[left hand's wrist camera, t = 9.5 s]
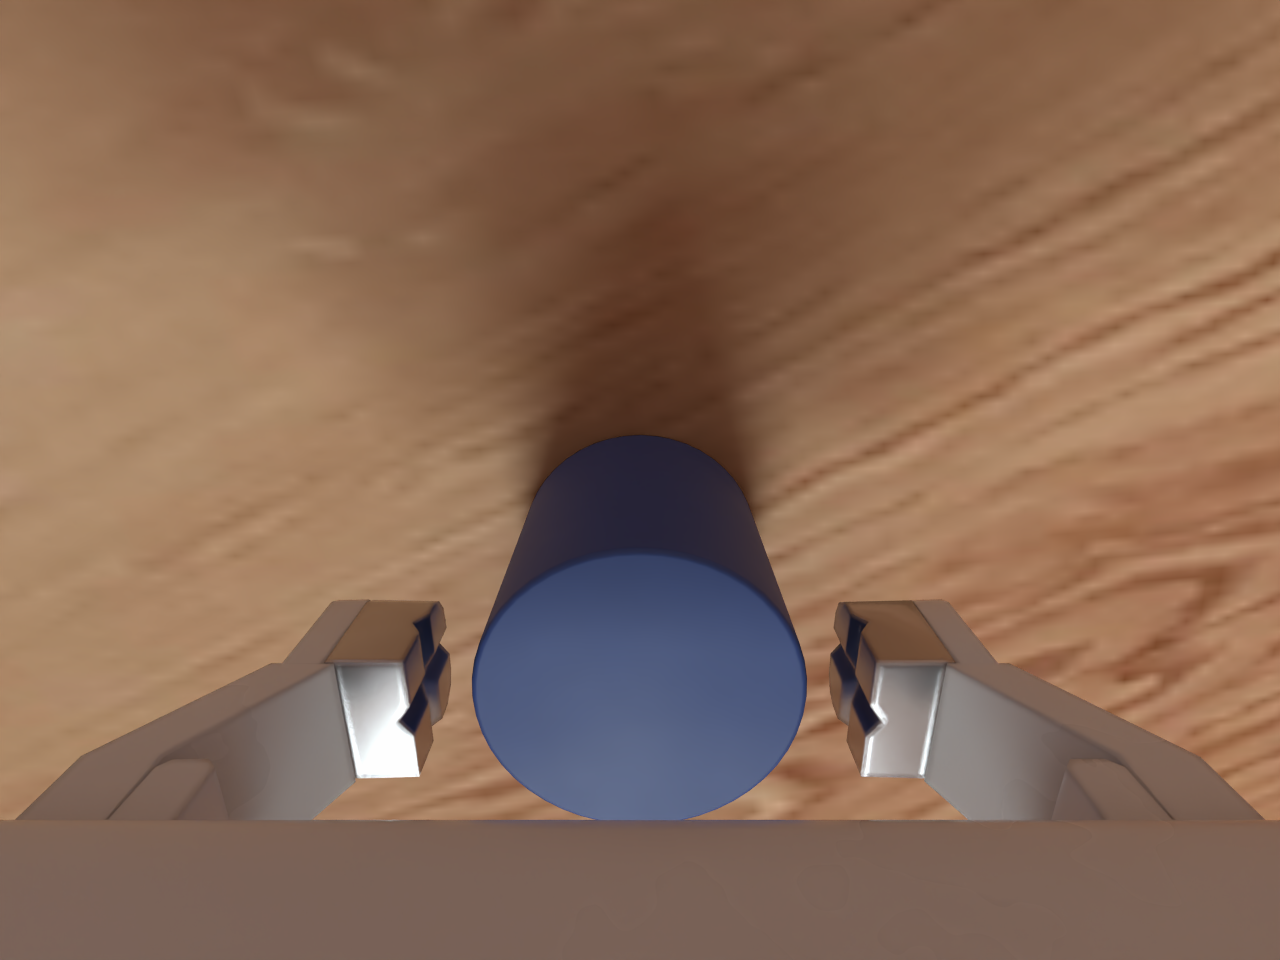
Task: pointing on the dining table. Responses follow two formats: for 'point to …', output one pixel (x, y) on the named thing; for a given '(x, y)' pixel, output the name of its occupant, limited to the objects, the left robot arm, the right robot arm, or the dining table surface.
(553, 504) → the canister
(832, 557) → the dining table surface
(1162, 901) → the left robot arm
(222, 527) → the dining table surface
